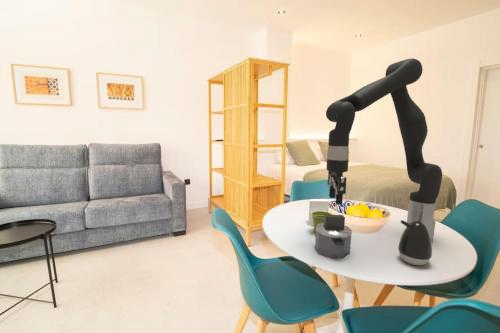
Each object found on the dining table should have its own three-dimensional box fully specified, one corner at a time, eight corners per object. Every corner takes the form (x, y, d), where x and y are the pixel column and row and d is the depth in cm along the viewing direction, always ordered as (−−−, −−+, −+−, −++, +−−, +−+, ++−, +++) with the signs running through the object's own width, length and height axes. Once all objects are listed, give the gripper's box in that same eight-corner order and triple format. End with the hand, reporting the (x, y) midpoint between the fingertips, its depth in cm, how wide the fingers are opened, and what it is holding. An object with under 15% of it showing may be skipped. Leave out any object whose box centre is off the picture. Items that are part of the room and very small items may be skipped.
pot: (340, 241, 110) (341, 223, 109) (355, 262, 93) (357, 241, 92) (311, 240, 110) (312, 222, 109) (321, 261, 94) (323, 240, 92)
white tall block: (324, 220, 134) (326, 197, 132) (329, 227, 125) (331, 203, 123) (306, 220, 134) (308, 197, 132) (310, 227, 125) (311, 202, 123)
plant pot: (333, 238, 113) (334, 218, 112) (310, 236, 115) (311, 217, 114) (331, 229, 122) (332, 211, 121) (310, 227, 124) (311, 210, 123)
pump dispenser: (399, 251, 102) (403, 214, 99) (431, 261, 95) (437, 220, 93) (393, 262, 94) (398, 221, 91) (428, 272, 87) (434, 229, 85)
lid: (344, 225, 107) (345, 210, 106) (356, 238, 94) (358, 222, 93) (312, 224, 107) (313, 210, 106) (320, 237, 94) (321, 221, 93)
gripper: (355, 160, 89) (352, 206, 92) (341, 155, 103) (339, 195, 106) (333, 160, 89) (330, 206, 92) (322, 155, 103) (320, 195, 106)
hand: (335, 200), depth 99 cm, fingers open, 8 cm apart
